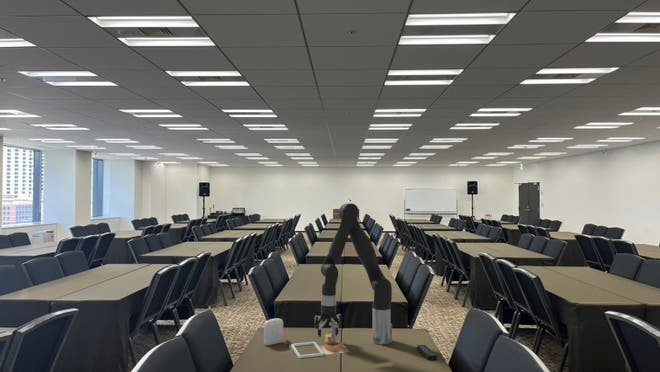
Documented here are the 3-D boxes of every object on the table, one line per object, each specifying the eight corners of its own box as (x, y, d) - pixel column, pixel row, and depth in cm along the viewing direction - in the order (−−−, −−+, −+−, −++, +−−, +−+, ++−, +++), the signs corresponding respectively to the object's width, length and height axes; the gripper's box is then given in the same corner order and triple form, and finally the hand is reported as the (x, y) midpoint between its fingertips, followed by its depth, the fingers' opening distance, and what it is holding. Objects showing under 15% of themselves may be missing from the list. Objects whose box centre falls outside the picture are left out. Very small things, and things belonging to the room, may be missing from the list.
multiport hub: (425, 349, 204) (425, 344, 204) (436, 360, 189) (436, 355, 190) (416, 349, 203) (416, 345, 203) (427, 361, 189) (427, 356, 189)
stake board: (341, 346, 206) (341, 318, 207) (350, 355, 195) (350, 325, 195) (318, 348, 203) (318, 320, 203) (325, 357, 191) (325, 328, 192)
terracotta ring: (335, 341, 209) (335, 333, 210) (344, 349, 197) (344, 341, 198) (320, 342, 207) (320, 334, 207) (327, 351, 195) (327, 343, 195)
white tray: (314, 346, 206) (314, 341, 206) (324, 358, 190) (324, 353, 190) (291, 349, 202) (291, 344, 202) (298, 361, 187) (298, 356, 187)
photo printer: (280, 340, 215) (280, 316, 215) (284, 342, 211) (284, 318, 212) (262, 343, 209) (262, 319, 210) (265, 346, 206) (266, 321, 206)
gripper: (339, 301, 213) (339, 332, 213) (313, 302, 209) (312, 334, 209) (344, 304, 206) (343, 337, 206) (316, 306, 202) (316, 339, 201)
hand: (327, 335), depth 207 cm, fingers open, 8 cm apart
